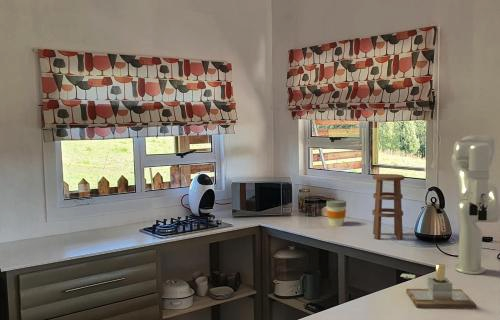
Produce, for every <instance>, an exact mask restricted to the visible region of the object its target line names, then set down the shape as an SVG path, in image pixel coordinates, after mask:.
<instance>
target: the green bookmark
mask: <svg viewBox="0 0 500 320" xmlns="http://www.w3.org/2000/svg"><path fill="white" fill-rule="evenodd" d="M401 277H402V278H404V279H409V280H410V279H415V278H416V274H410V273H402V274H401V275H400V278H401Z"/></svg>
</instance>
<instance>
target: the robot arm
mask: <svg viewBox="0 0 500 320" xmlns="http://www.w3.org/2000/svg"><path fill="white" fill-rule="evenodd" d="M495 152H496V142H495V139H494V138H493V137H492V136H491V135H474V134H473V135H466V136H464V137H463V138H462V139H460V140H456V141H455V143H454V145H453V153H452V155H451V168H452V170H453V173H454V175H455V177H456V179H457V183H458V192H459V198H460V200H461V201H460V202H459V203H458V204H457V217H458V257H457V263H458V264H455V265H454V270H455V271H456V272H458V273H462V274H469V275H481V274H484V273H486V272H485V271H486V269H485V268H484V267H483V266H482V253H483V252H482V251H483V250H482V249H483V231H482V229H481V228H480V226H478V224H477V223H493V224H494V223H497V222H499V221H500V198H499V191H498V189H497V187H496V185H495V184H492V183H488V181H489V180H490V167H491V166H492V163H493V159H494V155H495Z"/></svg>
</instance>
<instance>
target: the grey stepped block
mask: <svg viewBox="0 0 500 320" xmlns="http://www.w3.org/2000/svg"><path fill="white" fill-rule="evenodd" d="M427 289H428V292H427V291H423V290H411V292H412V294H413V295H414V297H415V298H416V300H417V301H434V299H445V300H453V301H470V300H469V299H468V298H467V297H466V296H465V295H464V294H463V293H462V292H461V291H452V289H453V282H451V281H450V279H448V278H447V277H445V283H436V277H427Z"/></svg>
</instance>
